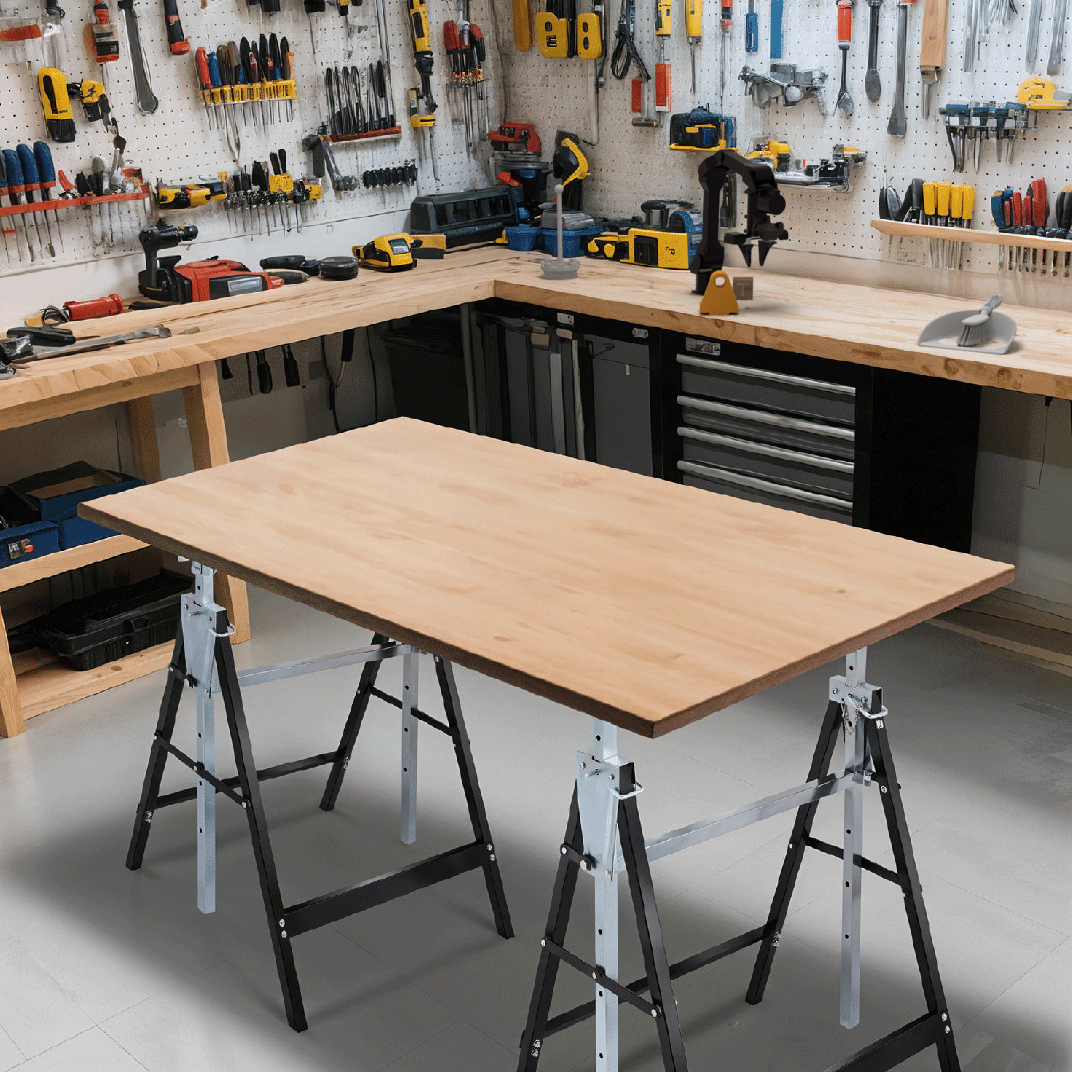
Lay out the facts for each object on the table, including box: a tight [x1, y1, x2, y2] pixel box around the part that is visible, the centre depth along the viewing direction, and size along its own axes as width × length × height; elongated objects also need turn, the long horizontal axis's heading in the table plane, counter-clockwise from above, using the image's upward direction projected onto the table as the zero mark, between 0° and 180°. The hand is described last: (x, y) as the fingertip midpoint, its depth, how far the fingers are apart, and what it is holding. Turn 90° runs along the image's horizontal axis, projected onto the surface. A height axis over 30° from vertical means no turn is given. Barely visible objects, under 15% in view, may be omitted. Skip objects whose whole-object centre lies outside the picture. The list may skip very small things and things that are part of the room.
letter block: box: [732, 276, 754, 301], centre depth 410 cm, size 6×6×6 cm
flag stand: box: [540, 183, 581, 281], centre depth 447 cm, size 13×13×30 cm
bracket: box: [699, 270, 739, 316], centre depth 389 cm, size 11×7×12 cm, turn 85°
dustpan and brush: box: [917, 293, 1017, 356], centre depth 351 cm, size 23×33×10 cm
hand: (755, 266), depth 391 cm, fingers open, 4 cm apart
